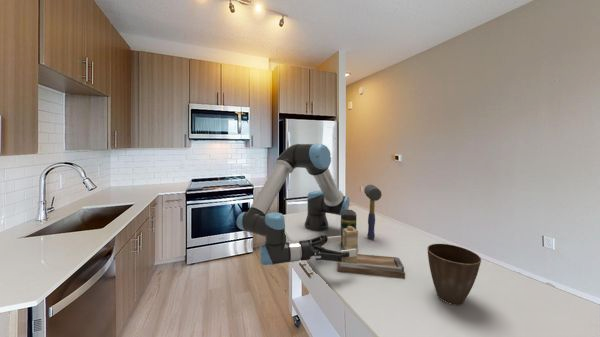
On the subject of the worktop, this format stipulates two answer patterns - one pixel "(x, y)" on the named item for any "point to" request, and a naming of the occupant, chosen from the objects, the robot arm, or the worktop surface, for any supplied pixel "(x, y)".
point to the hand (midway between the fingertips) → (347, 245)
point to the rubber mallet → (372, 207)
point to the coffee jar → (347, 221)
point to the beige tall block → (350, 243)
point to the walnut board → (374, 266)
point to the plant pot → (453, 271)
